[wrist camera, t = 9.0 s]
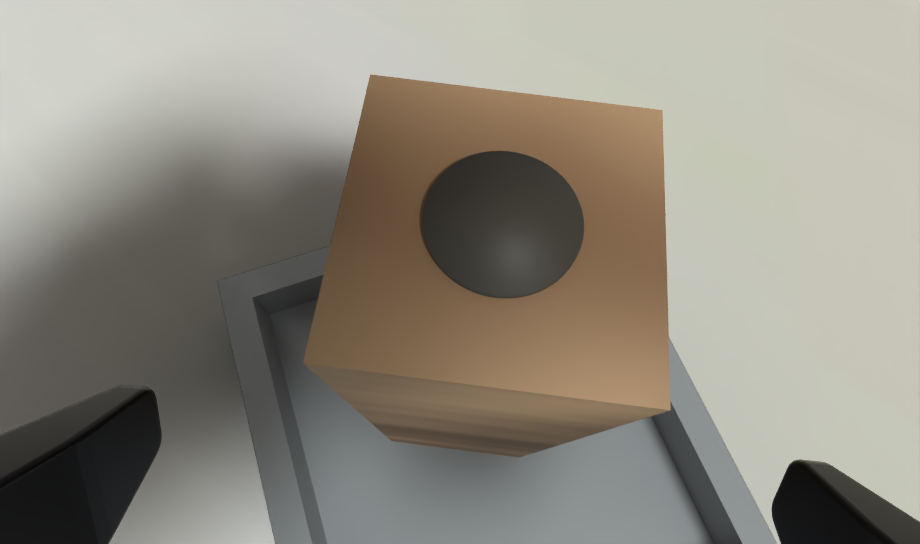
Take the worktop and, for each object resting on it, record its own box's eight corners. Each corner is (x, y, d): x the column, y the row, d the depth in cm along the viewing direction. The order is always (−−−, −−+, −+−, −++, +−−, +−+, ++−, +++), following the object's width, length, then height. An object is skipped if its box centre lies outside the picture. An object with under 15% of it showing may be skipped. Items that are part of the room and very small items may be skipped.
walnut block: (519, 457, 18) (673, 409, 6) (391, 441, 19) (301, 361, 6) (528, 333, 20) (664, 106, 8) (411, 318, 20) (369, 70, 8)
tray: (757, 596, 18) (815, 616, 15) (361, 788, 16) (343, 855, 13) (563, 205, 23) (580, 168, 21) (246, 307, 21) (217, 280, 18)
